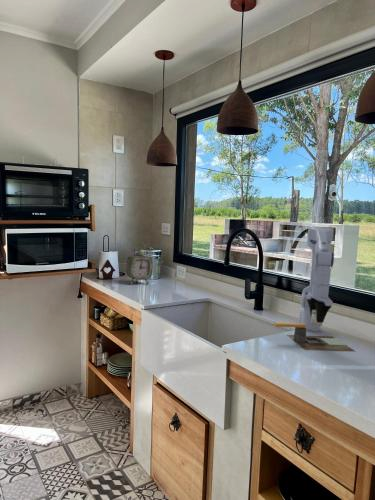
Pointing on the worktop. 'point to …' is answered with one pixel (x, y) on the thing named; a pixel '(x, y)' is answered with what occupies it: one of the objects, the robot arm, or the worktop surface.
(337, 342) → the sage mat
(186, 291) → the worktop surface
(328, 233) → the robot arm
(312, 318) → the plug
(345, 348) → the board
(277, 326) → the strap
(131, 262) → the tabletop clock
